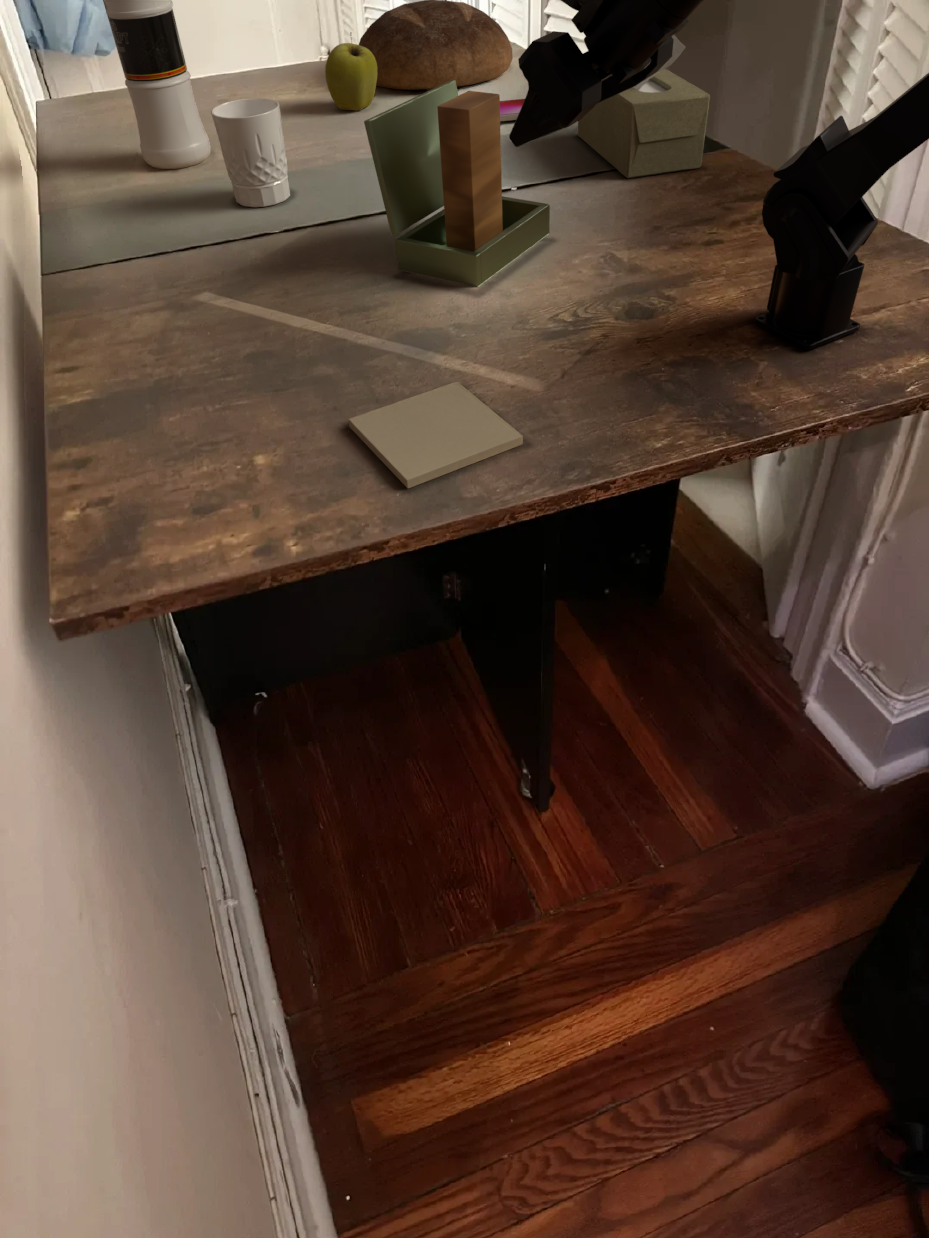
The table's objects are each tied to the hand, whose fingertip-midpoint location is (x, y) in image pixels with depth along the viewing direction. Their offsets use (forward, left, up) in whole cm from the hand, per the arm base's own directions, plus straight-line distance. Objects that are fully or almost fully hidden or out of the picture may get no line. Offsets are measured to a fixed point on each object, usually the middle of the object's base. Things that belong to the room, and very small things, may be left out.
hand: (538, 127), depth 80 cm
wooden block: (+7, +3, -12) cm, 15 cm away
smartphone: (+46, -30, -13) cm, 56 cm away
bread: (+76, -30, -13) cm, 83 cm away
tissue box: (+23, -30, -13) cm, 40 cm away
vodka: (+61, +19, -13) cm, 65 cm away
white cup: (+39, +15, -13) cm, 44 cm away
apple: (+67, -11, -13) cm, 69 cm away
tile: (-20, +23, -13) cm, 34 cm away
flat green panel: (+11, +6, -4) cm, 13 cm away
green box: (+7, +3, -13) cm, 15 cm away
